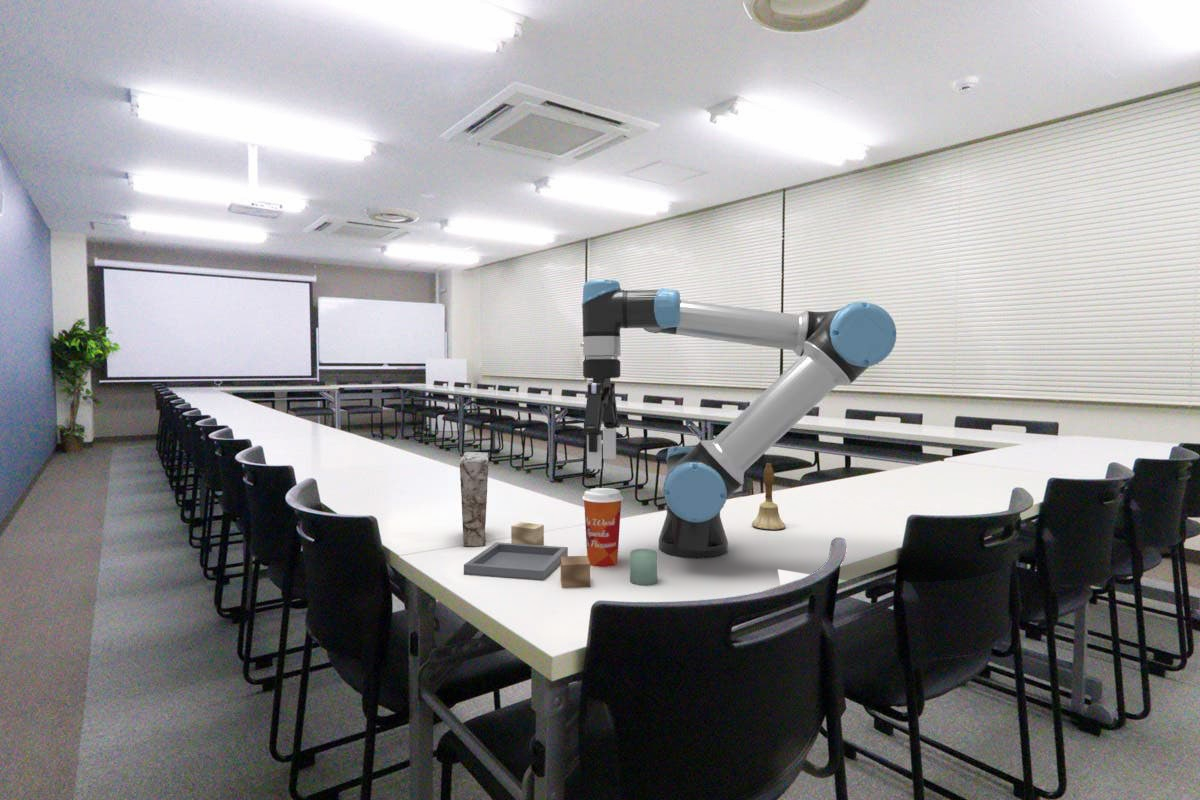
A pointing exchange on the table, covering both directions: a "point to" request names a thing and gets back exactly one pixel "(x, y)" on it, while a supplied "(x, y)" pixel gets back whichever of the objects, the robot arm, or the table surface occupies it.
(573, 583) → the walnut cube
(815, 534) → the table surface
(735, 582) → the table surface
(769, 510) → the hand bell
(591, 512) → the coffee cup
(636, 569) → the green tin
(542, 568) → the charcoal tray
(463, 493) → the stone block
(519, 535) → the oak block
